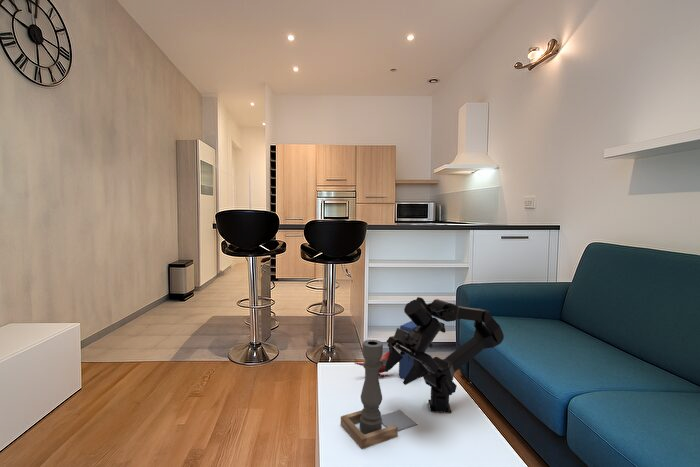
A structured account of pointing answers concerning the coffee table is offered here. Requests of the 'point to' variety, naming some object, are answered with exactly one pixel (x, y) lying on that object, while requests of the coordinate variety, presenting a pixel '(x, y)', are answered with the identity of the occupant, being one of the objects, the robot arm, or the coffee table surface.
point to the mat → (397, 420)
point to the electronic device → (407, 360)
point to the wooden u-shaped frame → (369, 438)
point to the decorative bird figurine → (383, 364)
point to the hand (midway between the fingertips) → (394, 377)
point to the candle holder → (371, 387)
